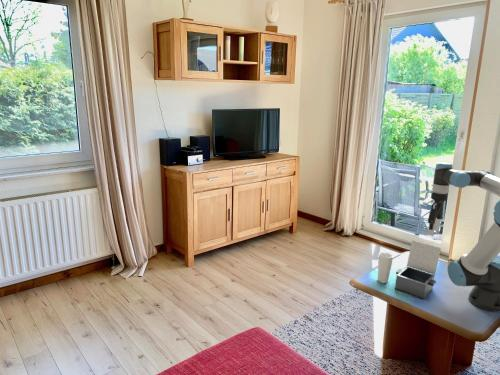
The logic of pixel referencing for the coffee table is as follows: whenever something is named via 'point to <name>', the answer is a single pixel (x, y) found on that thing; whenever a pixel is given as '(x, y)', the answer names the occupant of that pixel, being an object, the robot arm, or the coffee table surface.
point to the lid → (423, 257)
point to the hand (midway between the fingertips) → (433, 232)
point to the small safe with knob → (414, 282)
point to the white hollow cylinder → (384, 267)
